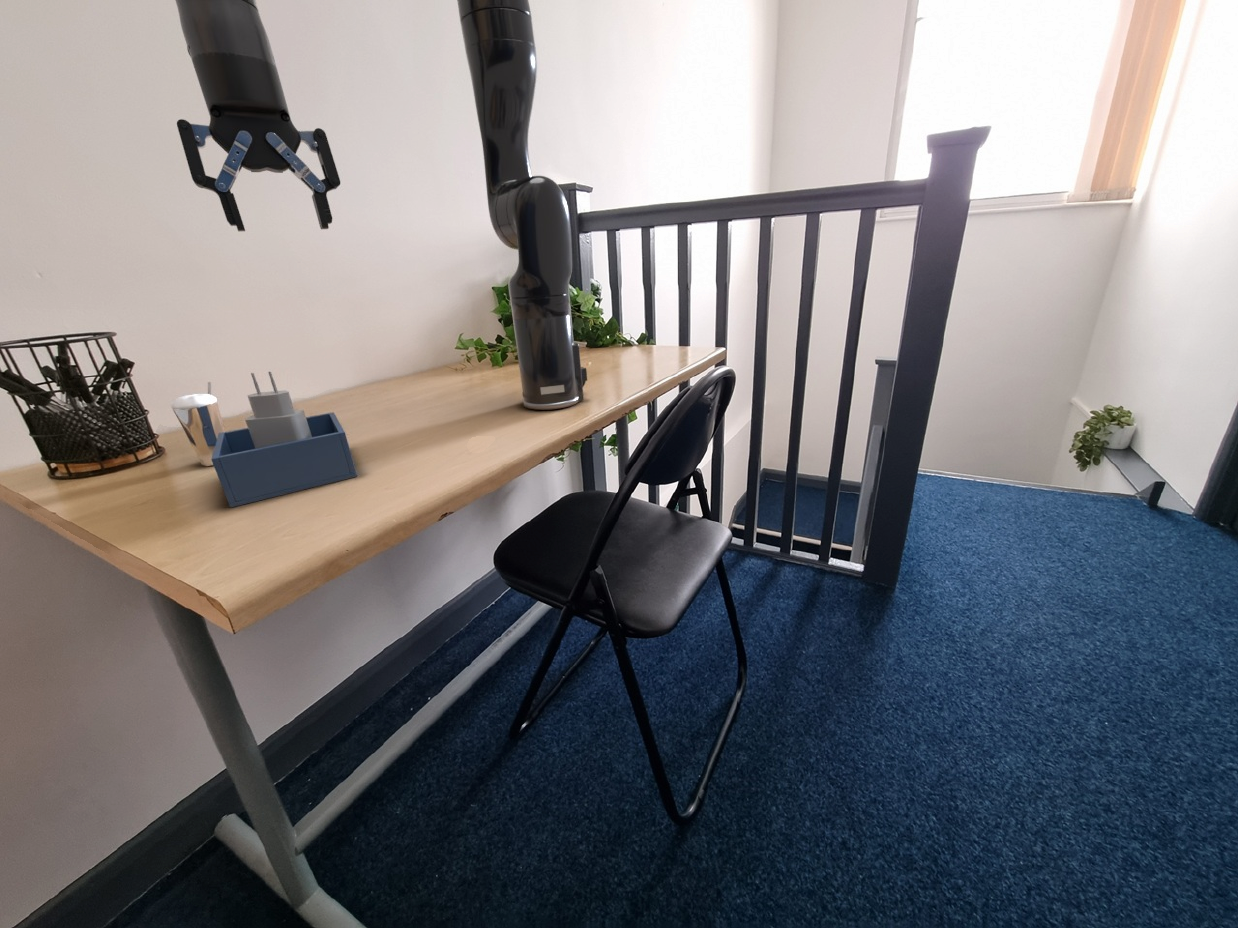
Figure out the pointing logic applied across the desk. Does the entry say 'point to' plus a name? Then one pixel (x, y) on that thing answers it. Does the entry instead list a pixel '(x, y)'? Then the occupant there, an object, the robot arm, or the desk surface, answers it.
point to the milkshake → (200, 422)
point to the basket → (282, 462)
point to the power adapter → (275, 418)
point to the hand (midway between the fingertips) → (285, 230)
